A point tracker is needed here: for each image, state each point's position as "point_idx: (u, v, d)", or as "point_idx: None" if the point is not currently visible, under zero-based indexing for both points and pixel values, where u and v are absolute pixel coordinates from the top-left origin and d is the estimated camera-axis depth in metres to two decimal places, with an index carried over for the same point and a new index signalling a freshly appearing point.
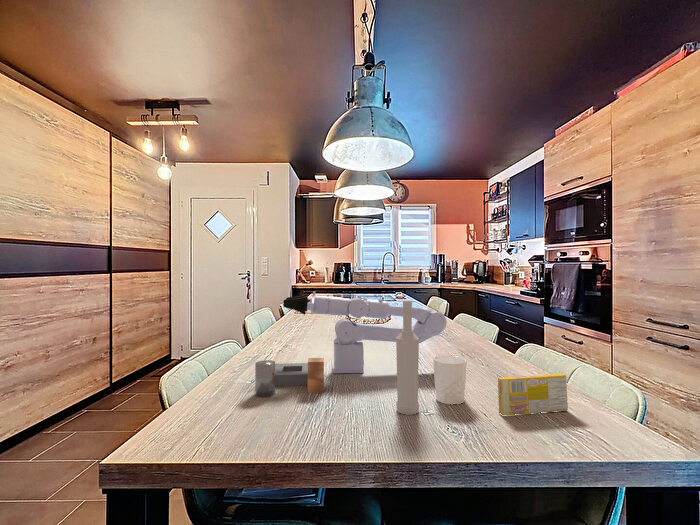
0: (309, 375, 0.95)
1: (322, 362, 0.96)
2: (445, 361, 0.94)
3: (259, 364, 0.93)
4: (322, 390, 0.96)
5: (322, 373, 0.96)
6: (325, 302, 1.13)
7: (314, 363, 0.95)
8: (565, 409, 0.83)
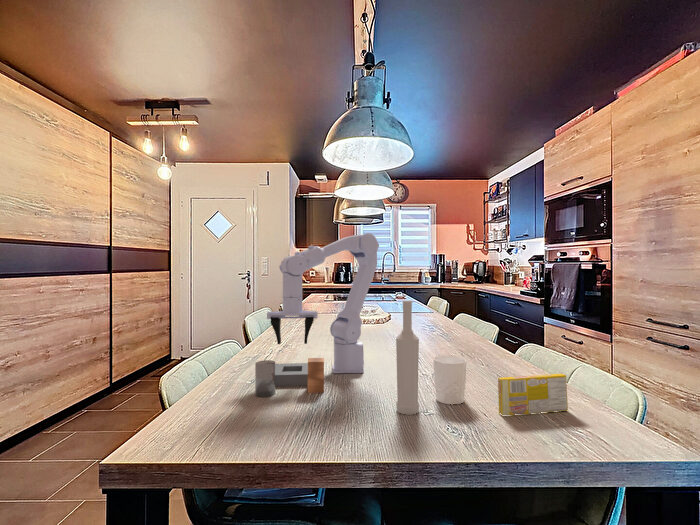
0: (309, 375, 0.95)
1: (322, 362, 0.96)
2: (445, 361, 0.94)
3: (259, 364, 0.93)
4: (322, 390, 0.96)
5: (322, 373, 0.96)
6: (301, 300, 1.06)
7: (314, 363, 0.95)
8: (565, 409, 0.83)
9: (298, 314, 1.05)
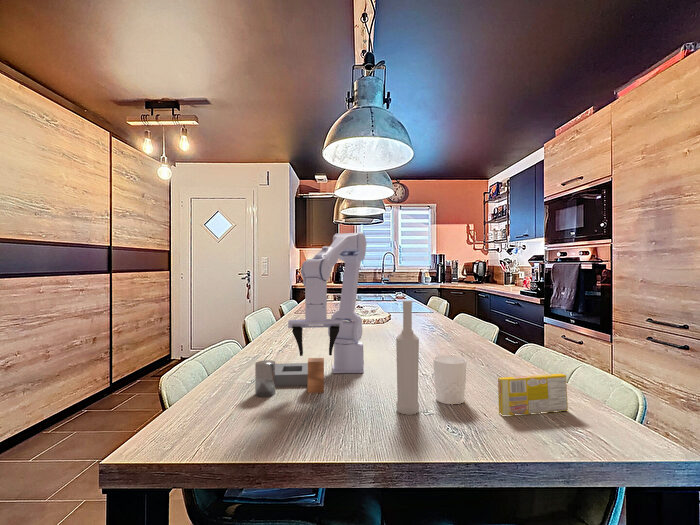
0: (309, 375, 0.95)
1: (322, 362, 0.96)
2: (445, 361, 0.94)
3: (259, 364, 0.93)
4: (322, 390, 0.96)
5: (322, 373, 0.96)
6: (325, 308, 0.97)
7: (314, 363, 0.95)
8: (565, 409, 0.83)
9: (323, 323, 0.95)
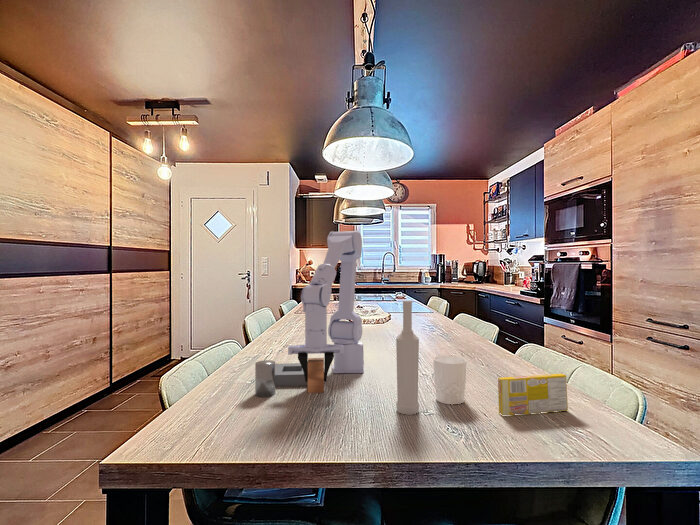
0: (309, 375, 0.95)
1: (322, 362, 0.96)
2: (445, 361, 0.94)
3: (259, 364, 0.93)
4: (322, 390, 0.96)
5: (322, 373, 0.96)
6: (325, 334, 0.97)
7: (314, 363, 0.95)
8: (565, 409, 0.83)
9: (323, 349, 0.95)
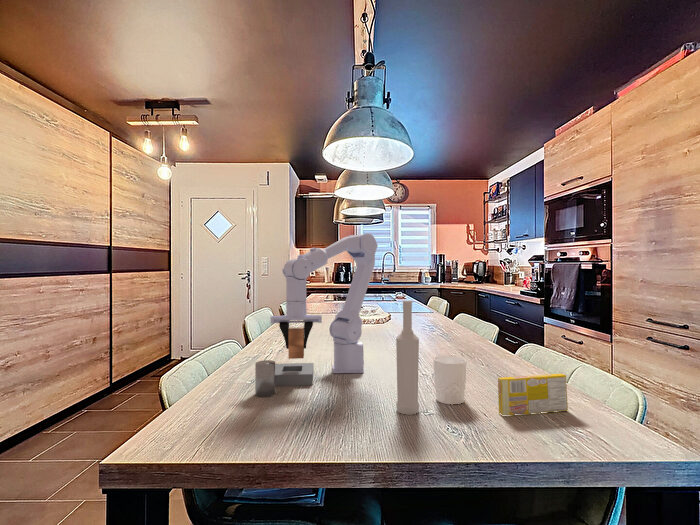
0: (289, 343, 1.03)
1: (302, 330, 1.03)
2: (445, 361, 0.94)
3: (259, 364, 0.93)
4: (302, 356, 1.03)
5: (302, 340, 1.03)
6: (305, 304, 1.05)
7: (294, 331, 1.03)
8: (565, 409, 0.83)
9: (302, 318, 1.03)
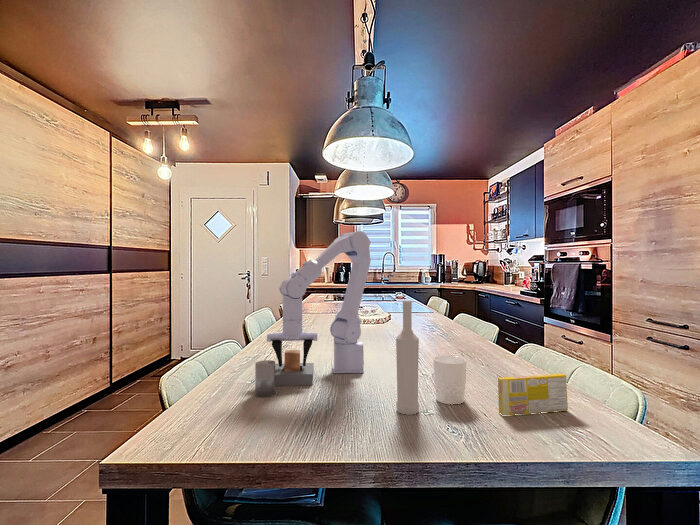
0: (285, 366, 1.05)
1: (298, 354, 1.05)
2: (445, 361, 0.94)
3: (259, 364, 0.93)
4: None
5: (297, 364, 1.05)
6: (301, 322, 1.06)
7: (290, 354, 1.05)
8: (565, 409, 0.83)
9: (298, 337, 1.05)
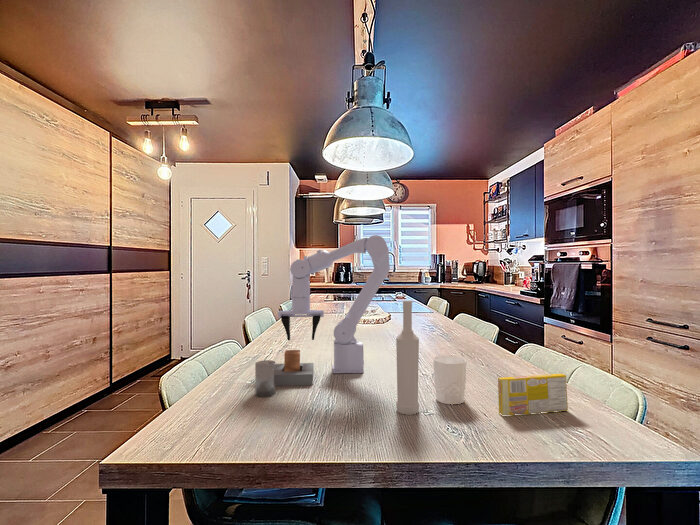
0: (285, 366, 1.05)
1: (297, 353, 1.05)
2: (445, 361, 0.94)
3: (259, 364, 0.93)
4: None
5: (297, 363, 1.05)
6: (309, 300, 1.17)
7: (290, 354, 1.05)
8: (565, 409, 0.83)
9: (306, 313, 1.15)
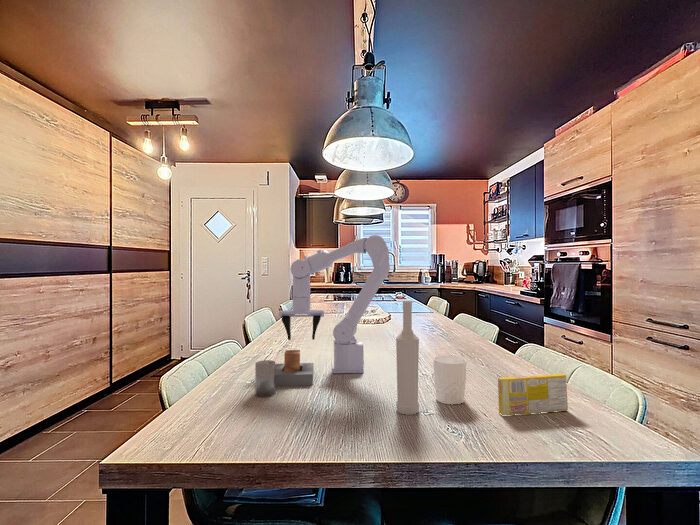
0: (285, 366, 1.05)
1: (297, 353, 1.05)
2: (445, 361, 0.94)
3: (259, 364, 0.93)
4: None
5: (297, 363, 1.05)
6: (309, 300, 1.18)
7: (290, 354, 1.05)
8: (565, 409, 0.83)
9: (307, 313, 1.16)
